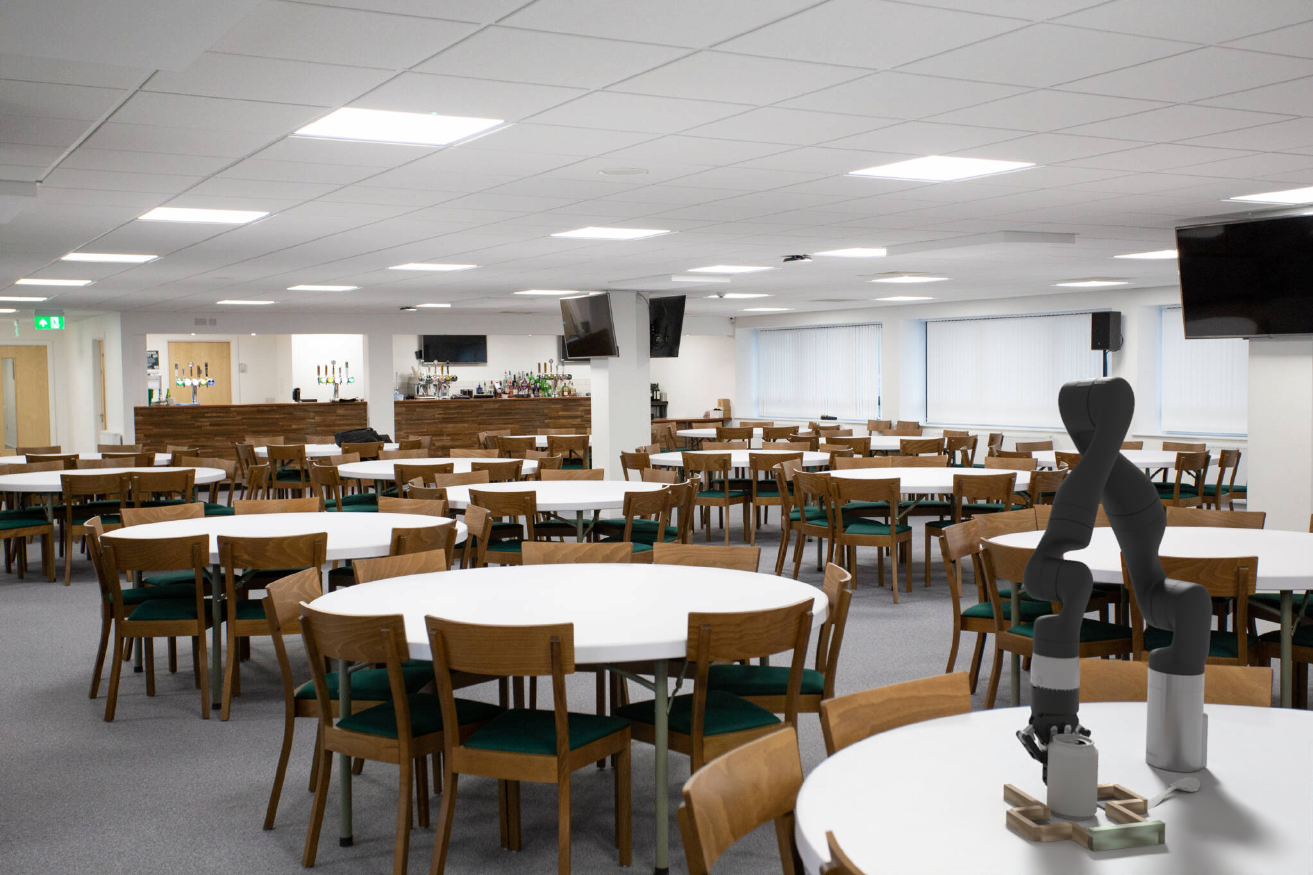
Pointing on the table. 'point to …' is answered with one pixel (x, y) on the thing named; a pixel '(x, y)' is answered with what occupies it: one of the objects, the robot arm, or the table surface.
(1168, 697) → the robot arm
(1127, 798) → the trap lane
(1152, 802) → the spoon
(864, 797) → the table surface
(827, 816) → the table surface
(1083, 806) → the can
